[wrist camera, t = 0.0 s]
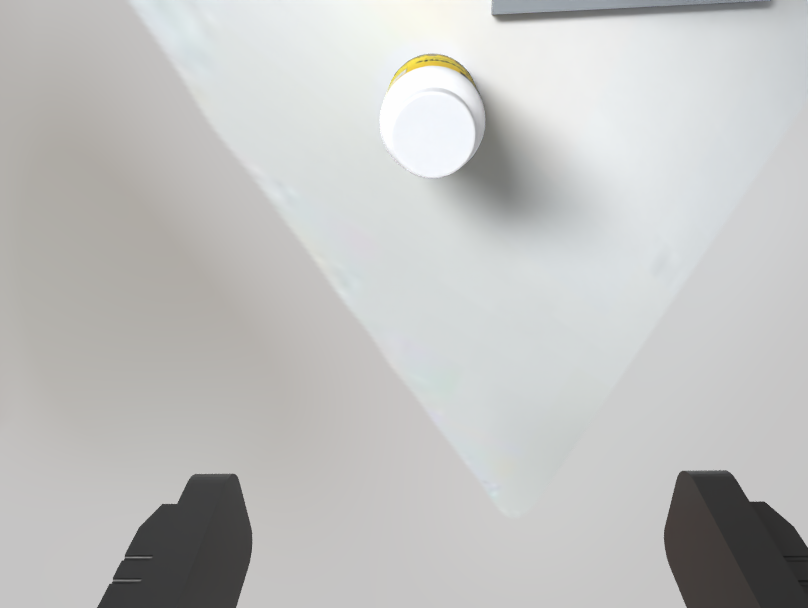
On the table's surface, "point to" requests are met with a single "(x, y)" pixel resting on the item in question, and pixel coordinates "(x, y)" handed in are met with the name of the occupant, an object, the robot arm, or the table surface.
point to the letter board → (588, 4)
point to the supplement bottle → (432, 116)
